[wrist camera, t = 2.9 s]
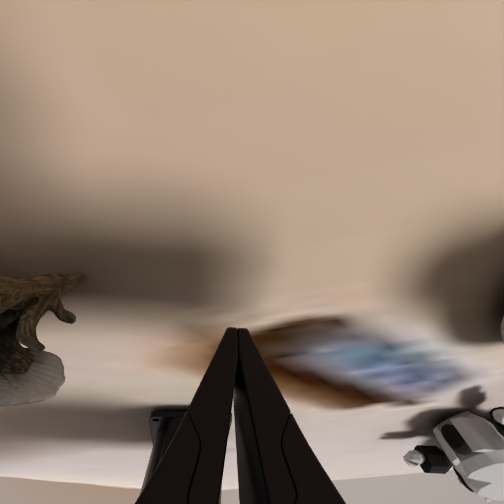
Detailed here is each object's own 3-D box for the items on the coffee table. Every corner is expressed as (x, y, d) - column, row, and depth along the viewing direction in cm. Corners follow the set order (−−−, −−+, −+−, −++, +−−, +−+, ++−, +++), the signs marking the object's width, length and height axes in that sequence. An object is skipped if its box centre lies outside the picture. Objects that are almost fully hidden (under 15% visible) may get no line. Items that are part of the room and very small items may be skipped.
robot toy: (380, 427, 23) (461, 457, 27) (406, 486, 19) (499, 512, 23) (482, 369, 19) (565, 415, 22) (545, 431, 15) (635, 474, 18)
